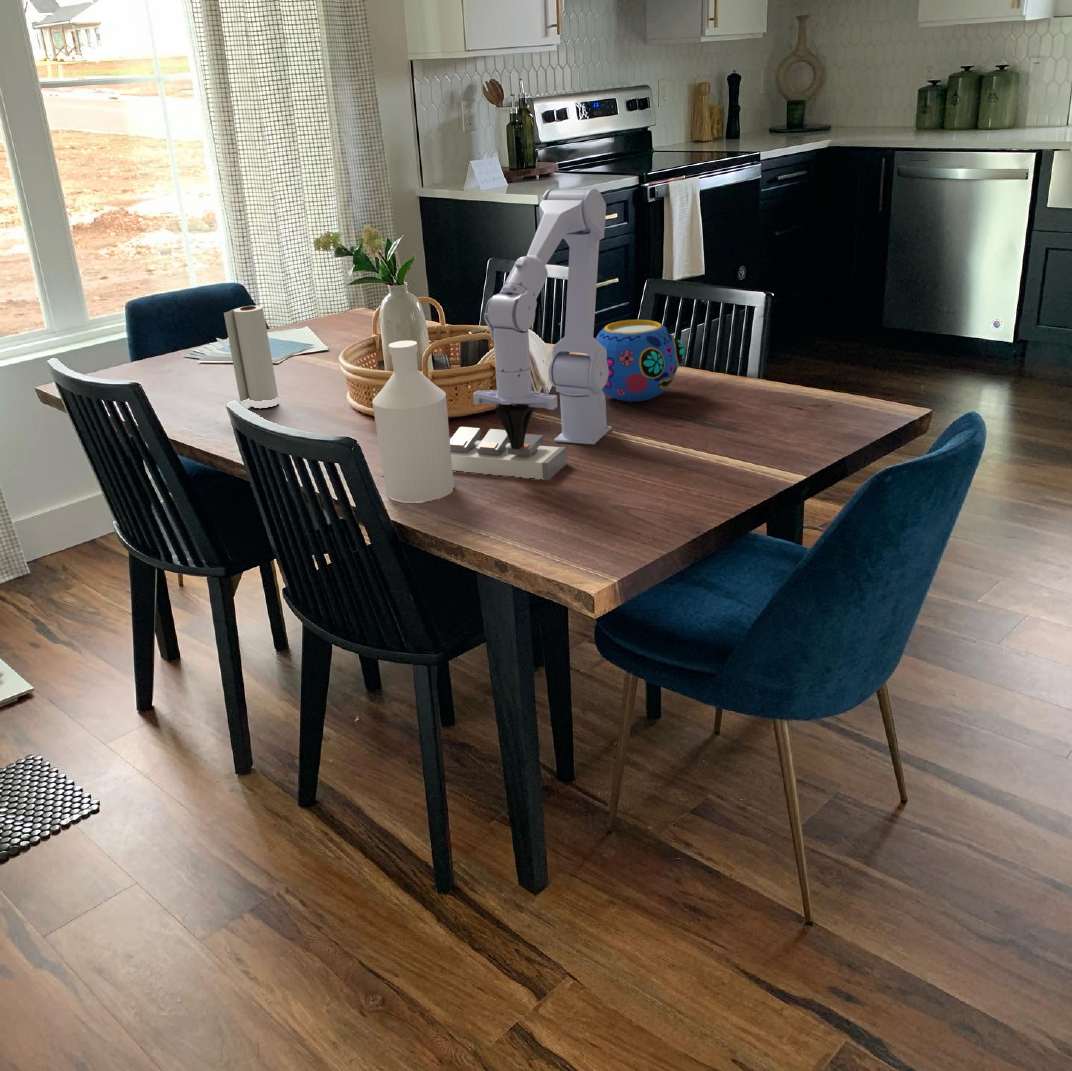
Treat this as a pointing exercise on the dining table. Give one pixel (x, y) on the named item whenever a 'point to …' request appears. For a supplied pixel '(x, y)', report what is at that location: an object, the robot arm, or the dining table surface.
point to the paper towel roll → (251, 353)
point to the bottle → (413, 430)
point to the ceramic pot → (639, 359)
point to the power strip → (512, 462)
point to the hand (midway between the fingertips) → (517, 447)
